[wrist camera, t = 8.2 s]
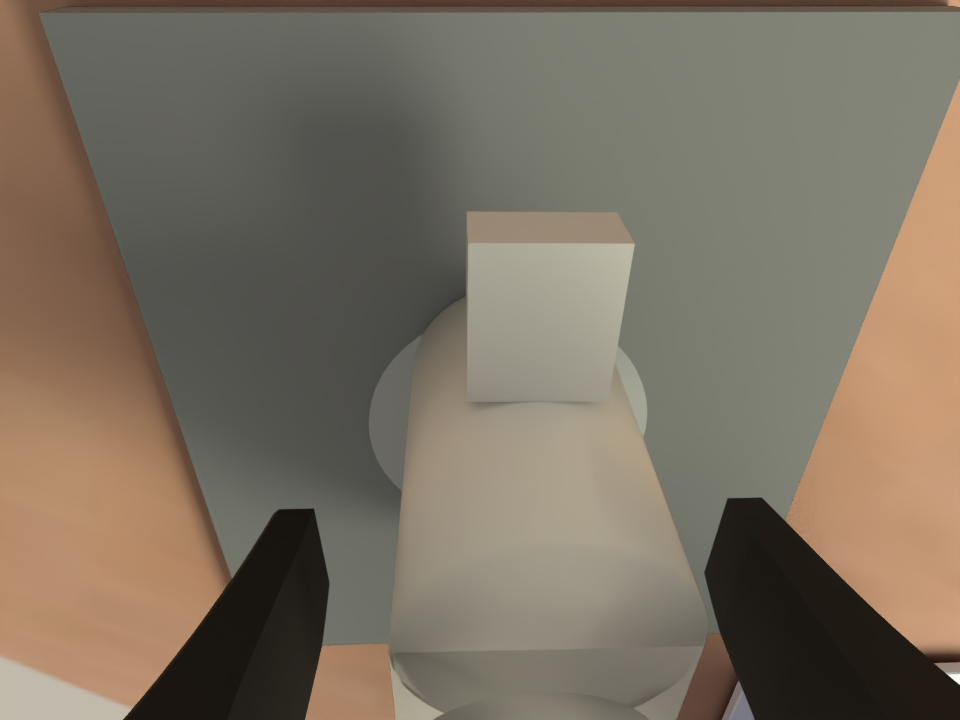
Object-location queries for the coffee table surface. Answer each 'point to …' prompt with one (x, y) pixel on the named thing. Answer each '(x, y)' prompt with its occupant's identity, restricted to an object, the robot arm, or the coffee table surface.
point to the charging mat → (495, 188)
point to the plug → (536, 497)
